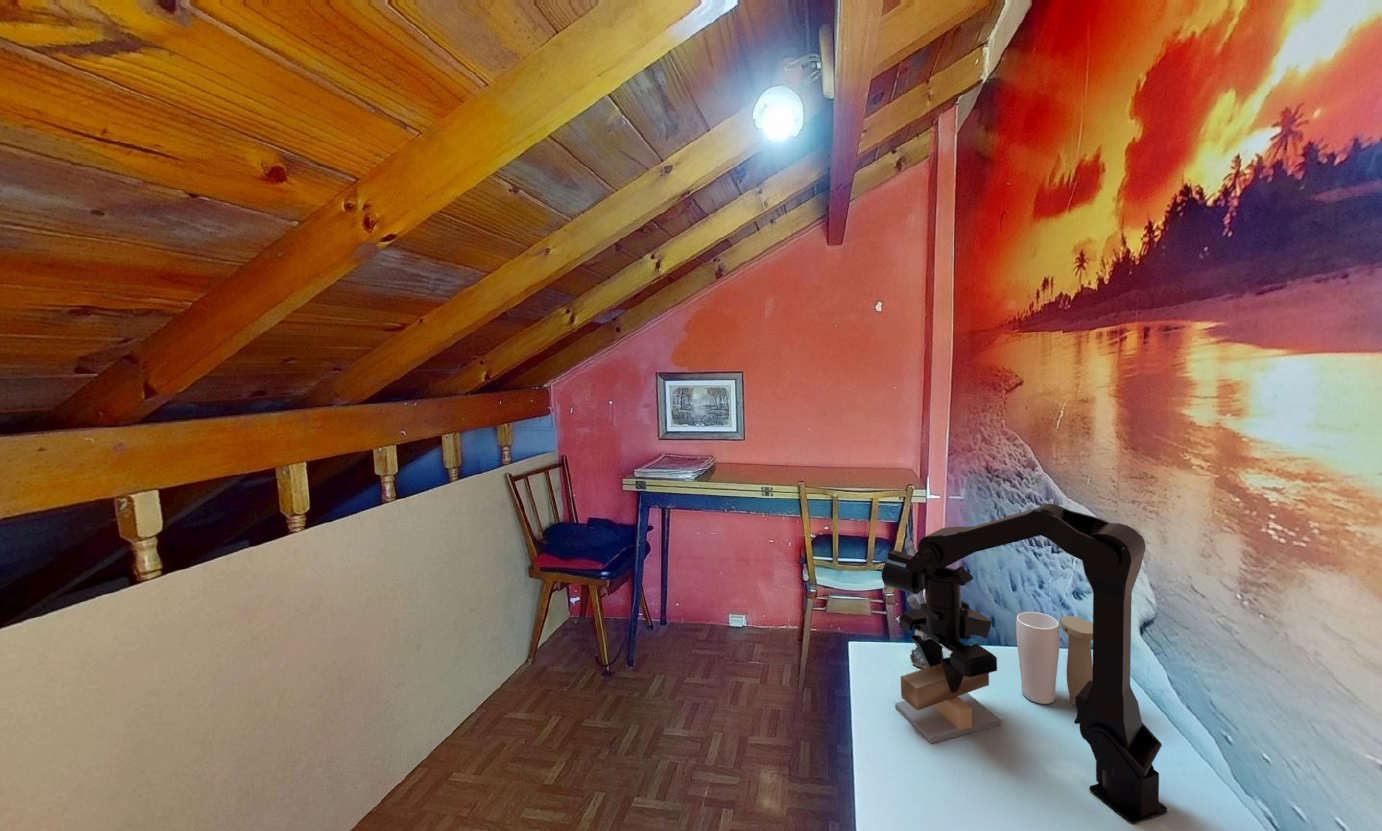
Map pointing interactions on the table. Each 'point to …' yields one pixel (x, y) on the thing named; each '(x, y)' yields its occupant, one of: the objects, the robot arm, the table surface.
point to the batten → (935, 686)
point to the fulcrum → (949, 718)
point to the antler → (914, 603)
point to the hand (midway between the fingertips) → (945, 684)
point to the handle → (1078, 653)
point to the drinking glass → (1038, 655)
